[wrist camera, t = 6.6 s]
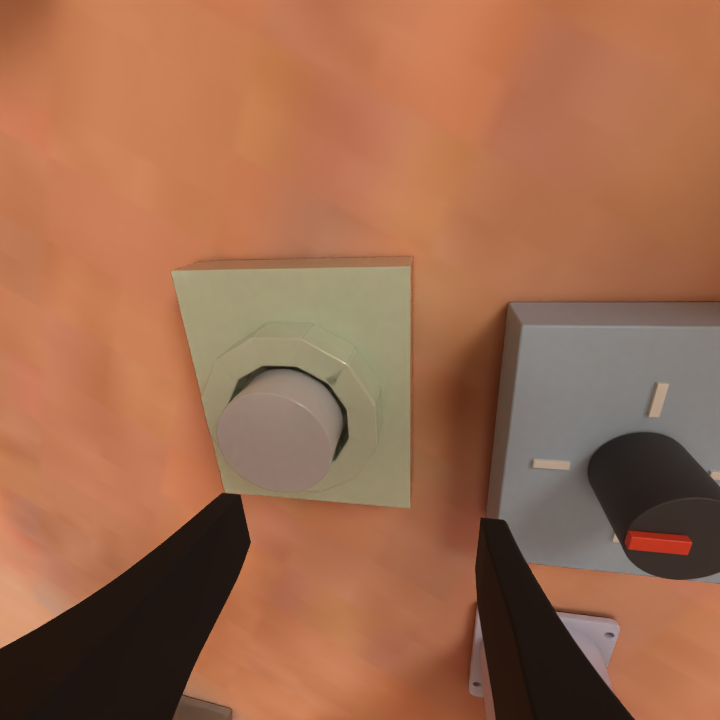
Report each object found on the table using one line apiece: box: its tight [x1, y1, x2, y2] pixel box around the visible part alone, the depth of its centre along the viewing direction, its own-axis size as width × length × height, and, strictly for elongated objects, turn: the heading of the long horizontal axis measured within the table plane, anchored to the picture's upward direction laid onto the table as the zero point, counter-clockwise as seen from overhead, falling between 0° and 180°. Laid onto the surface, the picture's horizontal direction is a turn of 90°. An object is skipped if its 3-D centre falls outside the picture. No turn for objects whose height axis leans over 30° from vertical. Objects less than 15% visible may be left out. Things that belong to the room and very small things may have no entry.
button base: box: [171, 256, 413, 509], centre depth 18 cm, size 12×10×4 cm
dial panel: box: [486, 302, 720, 584], centre depth 17 cm, size 12×10×3 cm
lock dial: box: [588, 432, 720, 580], centre depth 14 cm, size 4×4×4 cm
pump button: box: [217, 369, 343, 493], centre depth 16 cm, size 5×5×2 cm
